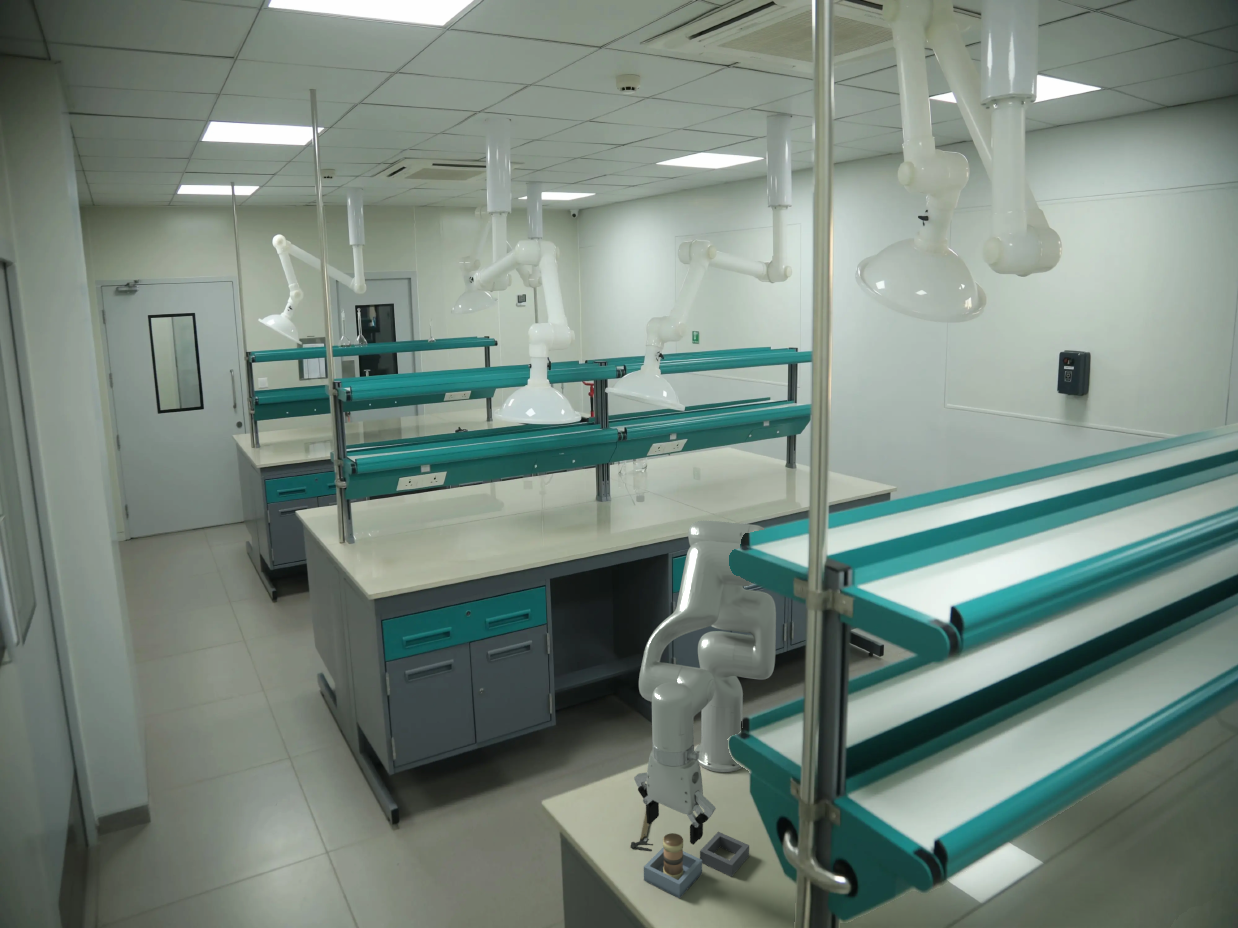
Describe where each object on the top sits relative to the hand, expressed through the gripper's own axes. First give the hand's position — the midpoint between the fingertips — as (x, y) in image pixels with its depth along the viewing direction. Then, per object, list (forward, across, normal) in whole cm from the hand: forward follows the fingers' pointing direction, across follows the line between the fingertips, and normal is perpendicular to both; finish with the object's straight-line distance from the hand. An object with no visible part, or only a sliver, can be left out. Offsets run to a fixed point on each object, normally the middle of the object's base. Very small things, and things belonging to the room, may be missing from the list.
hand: (674, 829), depth 155 cm
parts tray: (+10, 0, +1) cm, 10 cm away
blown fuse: (+9, 0, +1) cm, 9 cm away
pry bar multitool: (+11, +13, -11) cm, 20 cm away
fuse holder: (+10, -6, -9) cm, 15 cm away
